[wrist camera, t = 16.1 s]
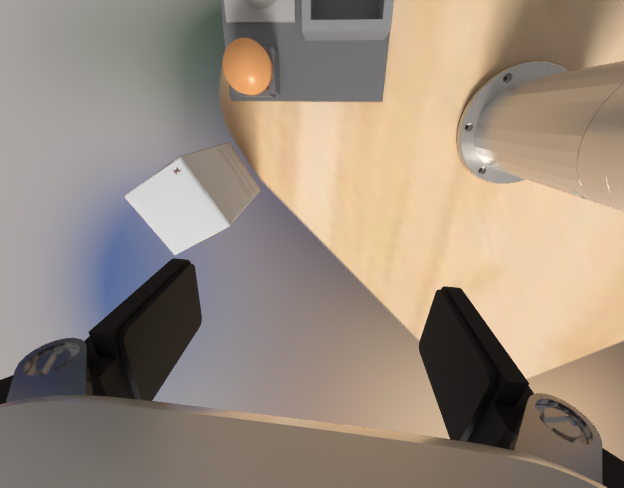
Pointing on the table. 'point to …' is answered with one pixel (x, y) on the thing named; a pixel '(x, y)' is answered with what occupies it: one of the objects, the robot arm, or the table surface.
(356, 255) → the table surface
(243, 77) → the glossy orange sphere
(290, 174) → the table surface
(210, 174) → the supplement box
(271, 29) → the grey compartment tray
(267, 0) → the cylinder
